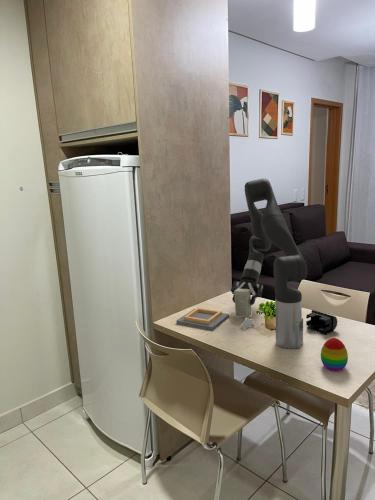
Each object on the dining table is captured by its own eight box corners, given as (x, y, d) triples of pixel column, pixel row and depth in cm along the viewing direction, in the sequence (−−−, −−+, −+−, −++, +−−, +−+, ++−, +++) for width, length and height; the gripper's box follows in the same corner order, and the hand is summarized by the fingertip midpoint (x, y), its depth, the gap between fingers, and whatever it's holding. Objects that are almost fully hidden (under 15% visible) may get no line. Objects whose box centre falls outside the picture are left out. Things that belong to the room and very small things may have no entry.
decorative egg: (326, 358, 128) (326, 331, 126) (351, 365, 123) (352, 337, 121) (316, 368, 122) (316, 339, 120) (342, 376, 117) (343, 346, 115)
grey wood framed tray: (229, 317, 169) (229, 310, 169) (213, 330, 156) (212, 323, 155) (194, 311, 178) (194, 305, 178) (176, 323, 165) (176, 317, 164)
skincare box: (251, 315, 170) (251, 289, 168) (248, 318, 166) (247, 292, 164) (238, 313, 173) (238, 287, 171) (234, 316, 170) (233, 290, 167)
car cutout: (248, 324, 162) (247, 314, 161) (258, 328, 156) (258, 318, 156) (220, 333, 154) (220, 322, 153) (230, 338, 149) (230, 327, 148)
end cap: (337, 330, 150) (337, 314, 148) (326, 335, 146) (327, 319, 144) (315, 323, 158) (316, 308, 156) (305, 328, 154) (305, 312, 152)
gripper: (235, 266, 177) (225, 297, 169) (264, 269, 169) (255, 301, 162) (239, 274, 182) (230, 305, 175) (268, 277, 175) (260, 309, 167)
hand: (242, 303), depth 168 cm, fingers open, 7 cm apart
